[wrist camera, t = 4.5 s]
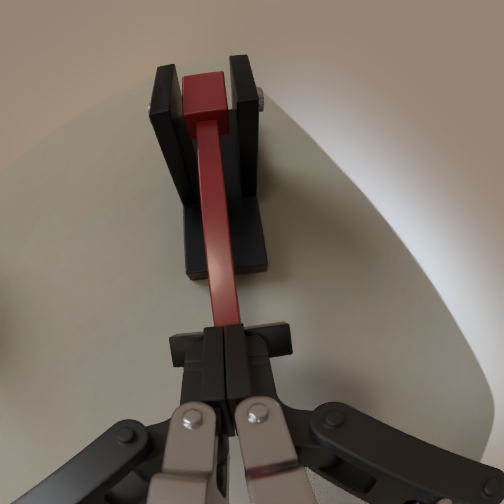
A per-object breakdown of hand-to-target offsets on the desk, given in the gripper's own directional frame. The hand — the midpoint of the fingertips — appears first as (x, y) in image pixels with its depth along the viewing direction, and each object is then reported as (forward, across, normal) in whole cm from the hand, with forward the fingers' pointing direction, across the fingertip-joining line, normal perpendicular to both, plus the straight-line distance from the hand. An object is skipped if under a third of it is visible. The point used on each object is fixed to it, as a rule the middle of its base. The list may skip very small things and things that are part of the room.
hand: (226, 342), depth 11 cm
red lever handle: (+5, 0, -4) cm, 7 cm away
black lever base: (+13, 0, -4) cm, 13 cm away
